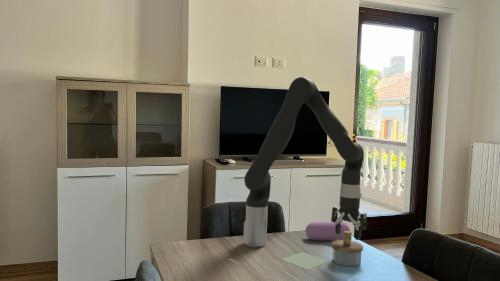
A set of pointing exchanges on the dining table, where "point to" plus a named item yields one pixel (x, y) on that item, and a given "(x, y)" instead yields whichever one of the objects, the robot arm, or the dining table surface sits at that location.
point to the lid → (347, 244)
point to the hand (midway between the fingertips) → (347, 236)
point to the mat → (304, 260)
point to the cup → (346, 258)
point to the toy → (325, 231)
